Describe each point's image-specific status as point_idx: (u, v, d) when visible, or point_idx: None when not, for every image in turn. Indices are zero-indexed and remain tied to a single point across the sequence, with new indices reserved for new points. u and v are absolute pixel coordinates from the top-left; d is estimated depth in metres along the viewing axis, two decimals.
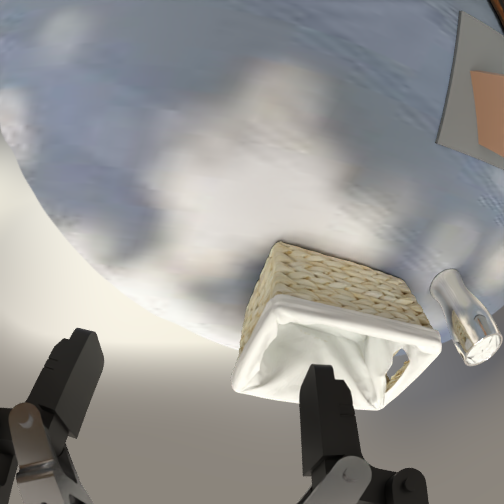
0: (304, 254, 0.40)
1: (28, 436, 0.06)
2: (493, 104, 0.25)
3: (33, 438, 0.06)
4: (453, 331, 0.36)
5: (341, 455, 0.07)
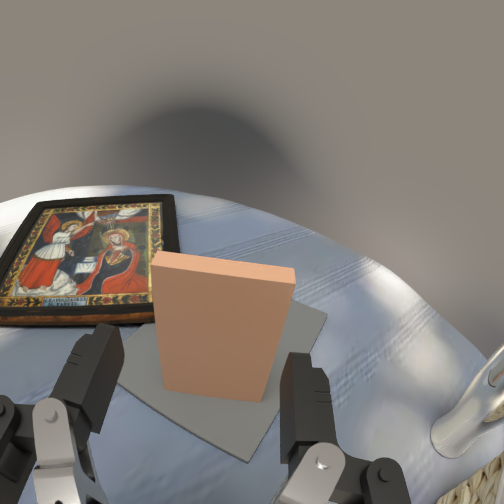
0: None
1: (51, 432, 0.06)
2: (200, 372, 0.28)
3: (59, 434, 0.06)
4: None
5: (315, 441, 0.08)
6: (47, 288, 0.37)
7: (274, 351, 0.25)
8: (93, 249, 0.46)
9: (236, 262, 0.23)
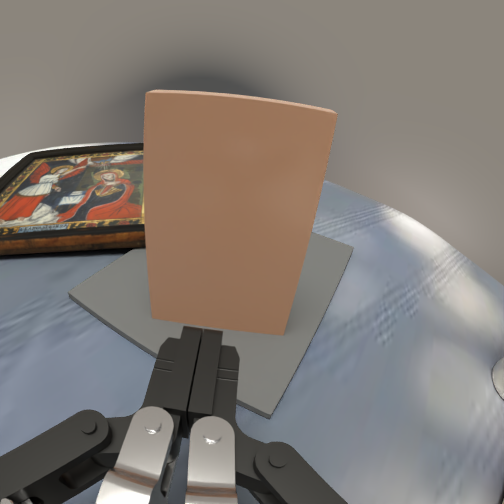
0: None
1: (146, 442, 0.07)
2: (202, 281, 0.21)
3: (169, 444, 0.07)
4: None
5: (208, 415, 0.08)
6: (24, 219, 0.31)
7: (307, 235, 0.19)
8: (82, 185, 0.40)
9: (257, 97, 0.16)
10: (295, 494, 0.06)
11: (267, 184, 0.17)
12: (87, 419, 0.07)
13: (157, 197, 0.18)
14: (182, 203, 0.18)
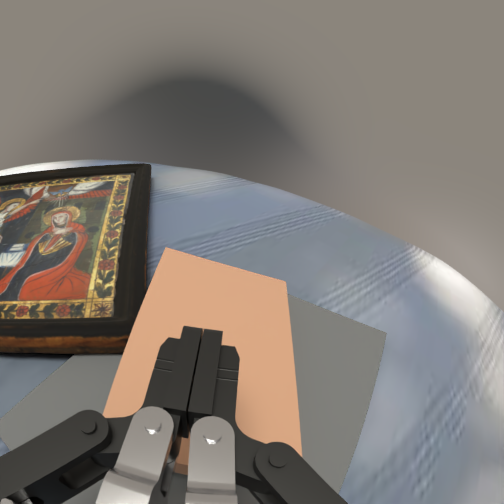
0: None
1: (146, 443, 0.07)
2: None
3: (169, 444, 0.07)
4: None
5: (208, 415, 0.08)
6: None
7: (290, 350, 0.20)
8: (27, 233, 0.28)
9: None
10: (295, 494, 0.06)
11: (249, 311, 0.22)
12: (86, 419, 0.07)
13: (156, 302, 0.19)
14: (179, 310, 0.19)
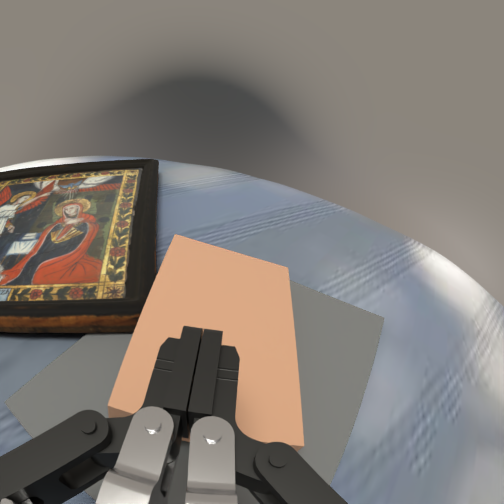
0: None
1: (146, 443, 0.07)
2: None
3: (168, 444, 0.07)
4: None
5: (208, 415, 0.08)
6: None
7: (292, 329, 0.21)
8: (39, 223, 0.30)
9: None
10: (295, 494, 0.06)
11: (254, 293, 0.23)
12: (87, 420, 0.07)
13: (167, 283, 0.21)
14: (188, 290, 0.21)
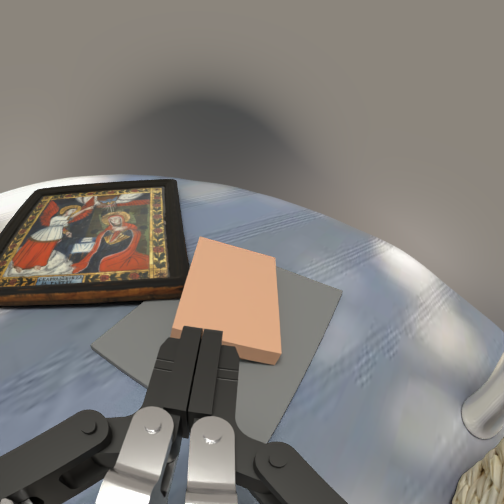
0: None
1: (146, 443, 0.07)
2: (219, 306, 0.30)
3: (169, 444, 0.07)
4: None
5: (208, 415, 0.08)
6: (41, 268, 0.35)
7: (276, 293, 0.35)
8: (92, 230, 0.44)
9: None
10: (295, 494, 0.06)
11: (252, 272, 0.37)
12: (87, 419, 0.07)
13: (198, 265, 0.35)
14: (212, 270, 0.35)
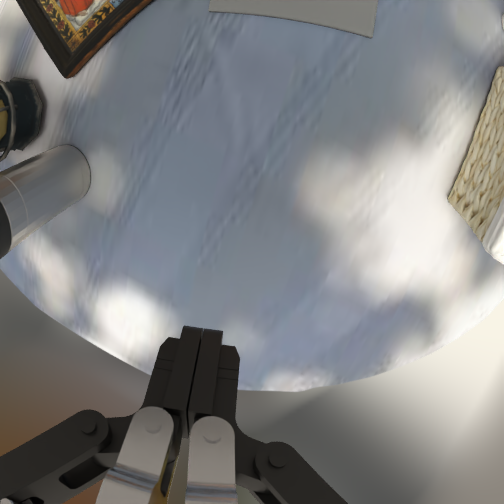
0: (462, 181, 0.32)
1: (146, 443, 0.07)
2: None
3: (168, 444, 0.07)
4: None
5: (208, 415, 0.08)
6: None
7: None
8: None
9: None
10: (295, 494, 0.06)
11: None
12: (87, 419, 0.07)
13: None
14: None
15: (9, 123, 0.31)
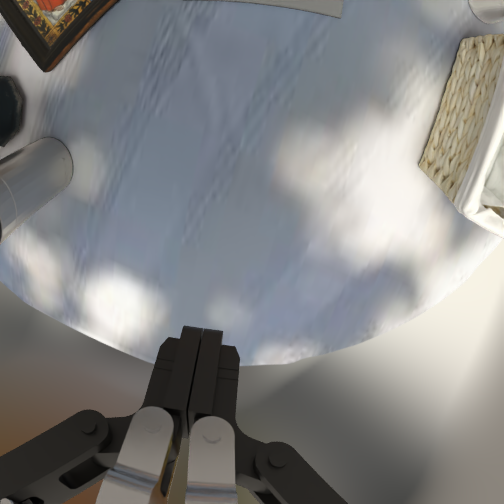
0: (431, 147, 0.35)
1: (146, 443, 0.07)
2: None
3: (168, 444, 0.07)
4: None
5: (208, 415, 0.08)
6: None
7: None
8: None
9: None
10: (295, 494, 0.06)
11: None
12: (87, 420, 0.07)
13: None
14: None
15: None
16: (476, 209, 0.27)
